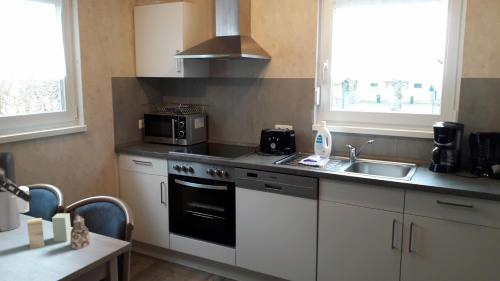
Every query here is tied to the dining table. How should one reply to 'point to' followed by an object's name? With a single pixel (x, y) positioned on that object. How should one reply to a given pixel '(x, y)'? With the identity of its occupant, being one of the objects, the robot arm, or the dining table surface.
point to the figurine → (79, 234)
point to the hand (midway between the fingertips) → (27, 198)
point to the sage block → (61, 227)
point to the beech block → (35, 233)
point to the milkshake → (22, 201)
